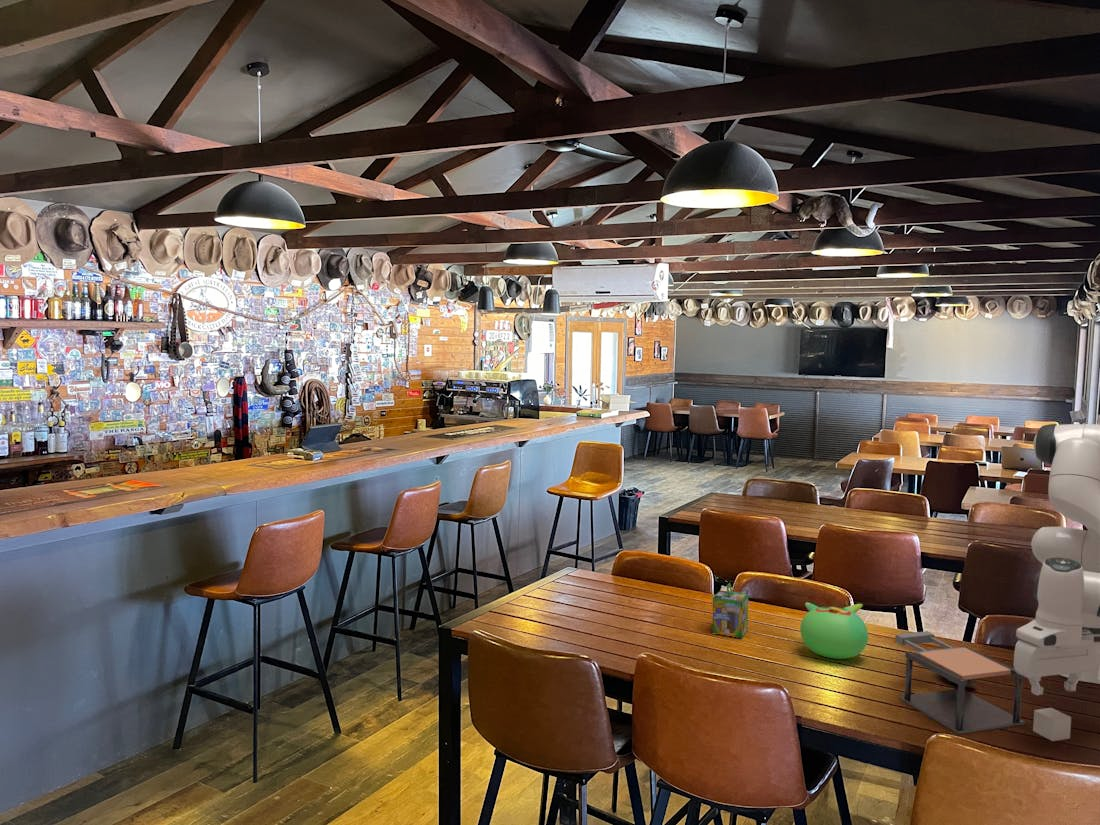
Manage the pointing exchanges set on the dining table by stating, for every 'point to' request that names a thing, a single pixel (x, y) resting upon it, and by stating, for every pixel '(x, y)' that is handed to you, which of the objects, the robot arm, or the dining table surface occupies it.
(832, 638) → the green rounded blob
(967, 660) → the trapdoor
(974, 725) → the stand
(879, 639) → the dining table surface
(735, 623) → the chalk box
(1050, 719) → the grey cube
